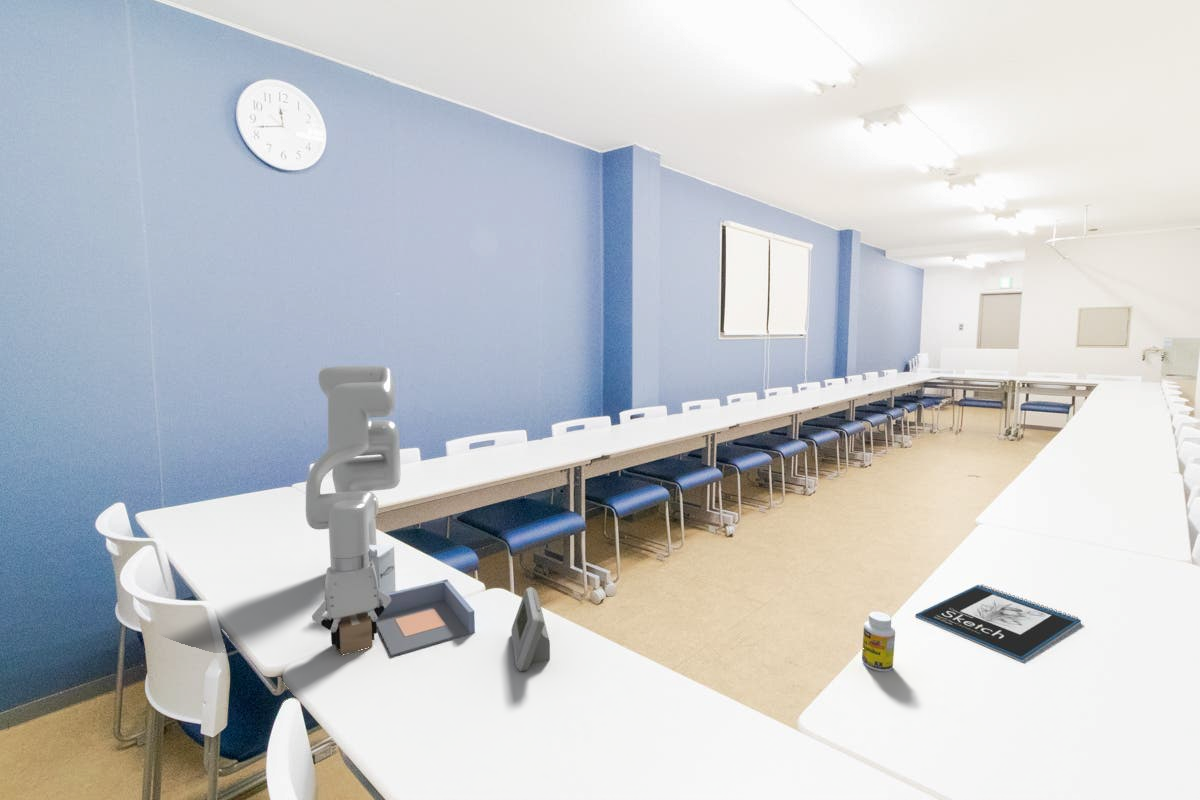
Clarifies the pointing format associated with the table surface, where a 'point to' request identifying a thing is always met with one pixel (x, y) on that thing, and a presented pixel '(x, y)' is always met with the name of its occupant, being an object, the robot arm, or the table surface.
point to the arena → (424, 617)
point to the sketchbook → (1000, 621)
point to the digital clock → (530, 632)
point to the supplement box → (384, 567)
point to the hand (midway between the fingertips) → (354, 641)
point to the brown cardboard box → (355, 632)
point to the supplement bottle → (878, 642)
